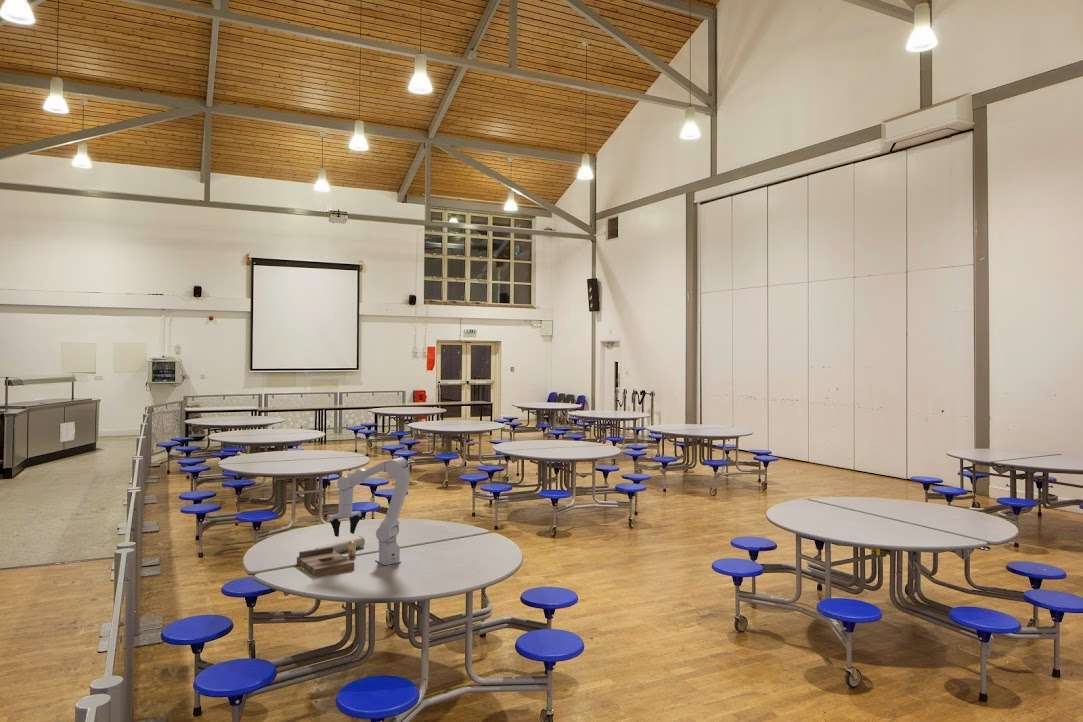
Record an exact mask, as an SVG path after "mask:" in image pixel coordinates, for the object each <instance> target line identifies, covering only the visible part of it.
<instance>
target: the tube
mask: <svg viewBox="0 0 1083 722" xmlns="http://www.w3.org/2000/svg"><path fill="white" fill-rule="evenodd" d="M349 541H356V548H357V549H359V548H358V547H361V546H363V547H364V546H365V544H366V540H365V538H364V537H363V536H362V535H358V536H355V537H352V538H351V537H350V538H347V539H344V540H340V541H336V542H335V541H334V542H331V543H328V544H324V545H319V546H316V547H315V549H320V548H326V547H333V551H335V552H337V553H339V554H341V552H342V553H344V552H345V551H346V552H348V542H349ZM361 548H362V547H361Z"/></svg>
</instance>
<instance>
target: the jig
mask: <svg viewBox="0 0 1083 722" xmlns="http://www.w3.org/2000/svg"><path fill="white" fill-rule="evenodd" d="M298 552H299V553H298V556H296V565H297V566H298V567H300V568H301V567H302V568H301V569H303V568H304V569H305V570H304V569H303V570H304V571H306V570H307V571H308V572H307V571H306V572H307V573H309V574H310V573H311V574H310V575H312V576H313V575H314V576H318V577H322V576H321V575H323V576H327V575H326V574H329V575H334V574H339V573H344V572H350V571H354V570H355V561H353V560H352V559H348V557H345V556H343V555H342V554H341V553H337V552H335V551H333V547H326V548H320V549H308V550H303V551H298ZM349 570H350V571H349ZM333 573H334V574H333ZM314 576H313V577H314Z"/></svg>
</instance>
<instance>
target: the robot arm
mask: <svg viewBox="0 0 1083 722" xmlns="http://www.w3.org/2000/svg"><path fill="white" fill-rule="evenodd" d="M380 472H383V473H387V474H388V475H389V476H390V477H391V478H392V479H393V480H394V482H395V485H394V486H395V487H394V489H393V492H392V495H391V499H390V502H389V505H388V508H387V512H386V515H385V517H384V519H383V520H382V522H381V523H380V526H379V527H378V528H377V529H376V531H375V536H376V539H377V540H378V558H375V559H374V561H376V562H377V563H379V564H381V565H383V566H389V565H394V564H398V563H402V560H400V558H401V556H400V546H399V544H398V543H397V536H398V534H399V532H400V527H399V526H400V523H401V522H400V521H399V517H400V514H401V511H402V508H403V505H404V501H405V499H406V495H407V493H408V492H407V491H408V489H409V485H410V482H411V477H410V464H409V462H408V460H407V459H406V458H405V457H401V456H400V457H397V458H392V459H388V460H385V461H381V462H380V463H376V464H375V465H374V466H370V467H369V468H367V469H364V468H360V467H359V468H356V471H353V472H349V473H347V474H346V475H345V476H343V475H342V476H341V477H339V478H338V479H337V482H336V486H337V488H338V489H339V491H338V513H334V514H331V515H328V520H329V523H330V525H331V526H332V528H333V534H334V535H333V536H334V537H337V538H338V537H339V536H340V526H341V524H342V522H341V521H340V520H341V519H348V518H349V524H350V525H349V532H350V534H352V535H354V534H355V531H356V530H357V529H356V528H357V526H358V523H359V522H360V521H361V516H362V511H359V510H357V511H356V510H355V511H353V503H354V502H353V501H354V499H353V498H354V488H355V487H357V486H358V485H360V484H362V483H365V482H367V481H368V480H369V478H370V477H371V476H374V475H376V474H379V473H380Z"/></svg>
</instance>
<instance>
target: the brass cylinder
mask: <svg viewBox="0 0 1083 722" xmlns="http://www.w3.org/2000/svg"><path fill="white" fill-rule="evenodd" d="M356 550H357V549H356V541H349V542H348V551H347V558H349V560H354V559H353V558H355V559H356V556H357V555H356V554H357V553H356Z"/></svg>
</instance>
